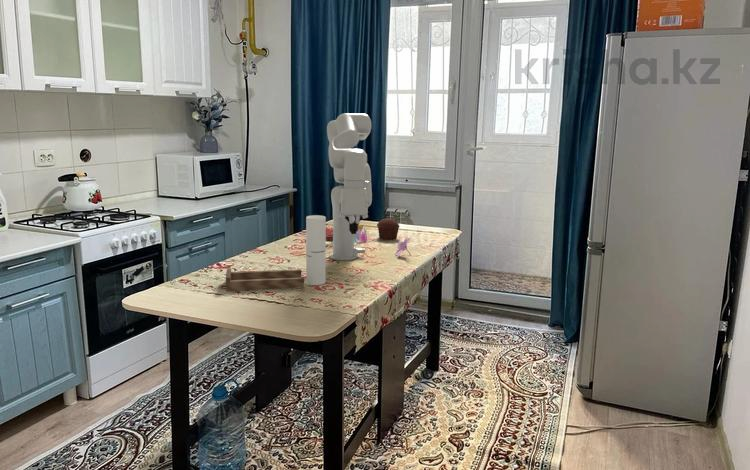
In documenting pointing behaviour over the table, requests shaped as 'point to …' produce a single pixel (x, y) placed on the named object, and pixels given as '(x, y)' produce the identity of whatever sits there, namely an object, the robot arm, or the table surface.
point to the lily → (402, 247)
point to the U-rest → (263, 280)
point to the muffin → (388, 229)
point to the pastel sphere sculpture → (358, 236)
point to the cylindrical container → (315, 249)
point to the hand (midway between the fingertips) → (353, 233)
